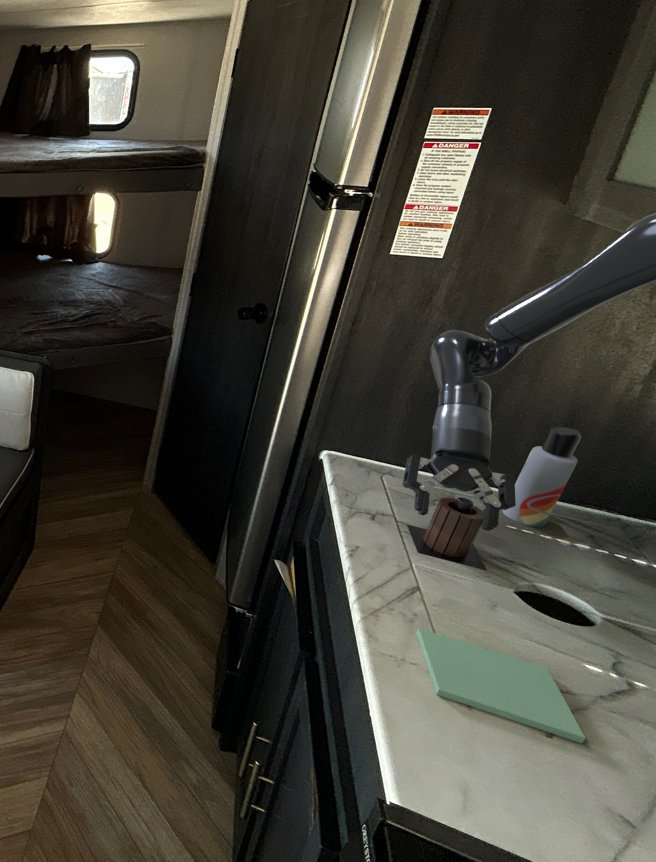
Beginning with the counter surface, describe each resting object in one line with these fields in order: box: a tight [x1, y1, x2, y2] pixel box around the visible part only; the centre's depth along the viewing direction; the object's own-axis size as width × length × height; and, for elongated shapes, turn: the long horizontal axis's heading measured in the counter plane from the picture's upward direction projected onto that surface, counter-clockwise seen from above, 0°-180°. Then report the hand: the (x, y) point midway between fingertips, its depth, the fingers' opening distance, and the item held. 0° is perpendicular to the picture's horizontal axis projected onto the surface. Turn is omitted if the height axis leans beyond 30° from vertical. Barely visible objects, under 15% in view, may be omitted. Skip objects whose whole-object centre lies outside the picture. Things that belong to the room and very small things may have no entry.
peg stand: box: [406, 496, 488, 571], centre depth 108 cm, size 9×9×11 cm
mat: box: [415, 628, 586, 744], centre depth 85 cm, size 14×12×1 cm
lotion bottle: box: [502, 426, 582, 528], centre depth 114 cm, size 6×6×20 cm
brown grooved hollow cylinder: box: [423, 497, 486, 557], centre depth 108 cm, size 6×6×8 cm
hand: (454, 521), depth 108 cm, fingers open, 8 cm apart
